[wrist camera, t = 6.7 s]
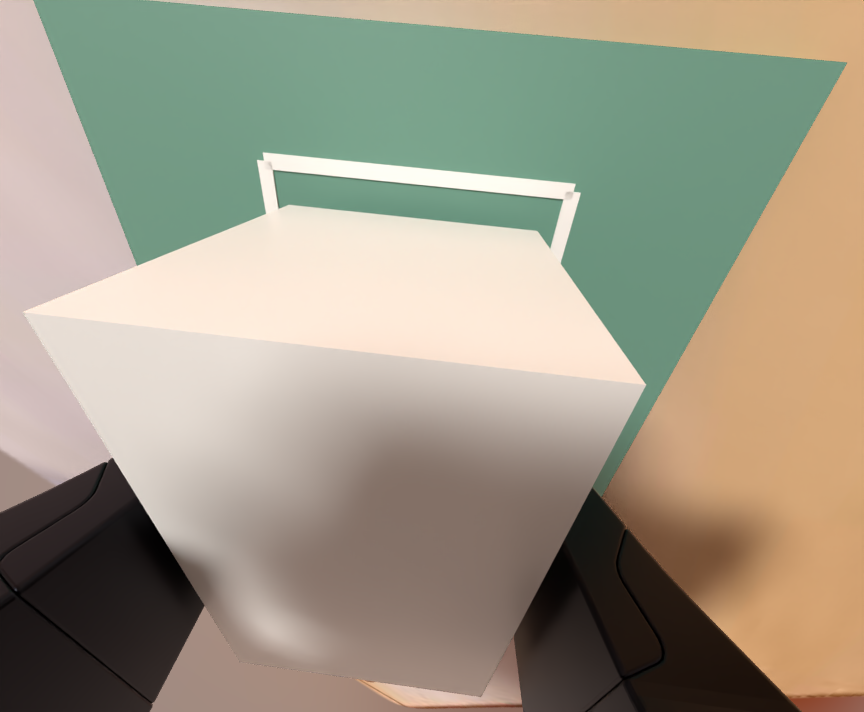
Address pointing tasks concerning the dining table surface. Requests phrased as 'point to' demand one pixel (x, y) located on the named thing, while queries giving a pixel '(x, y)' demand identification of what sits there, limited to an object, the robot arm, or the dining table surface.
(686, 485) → the dining table surface
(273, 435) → the block
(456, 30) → the pin board
